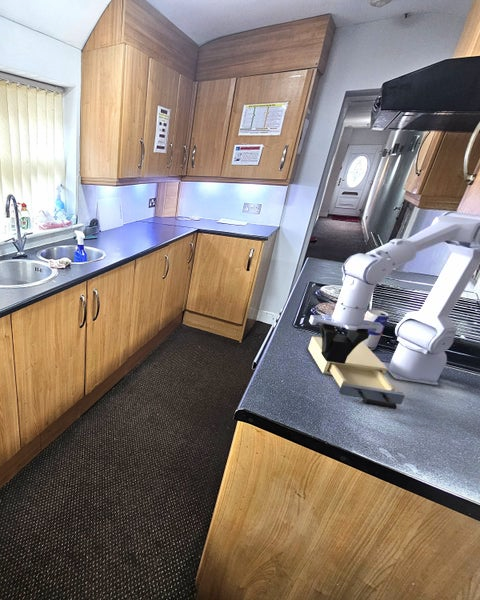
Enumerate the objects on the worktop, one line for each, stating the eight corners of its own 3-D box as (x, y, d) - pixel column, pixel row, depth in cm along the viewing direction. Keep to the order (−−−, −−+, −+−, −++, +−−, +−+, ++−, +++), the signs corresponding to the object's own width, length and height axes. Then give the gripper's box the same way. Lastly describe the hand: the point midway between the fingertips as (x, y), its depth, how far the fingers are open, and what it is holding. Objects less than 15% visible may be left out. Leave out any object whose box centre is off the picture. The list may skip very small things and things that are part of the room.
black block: (338, 355, 86) (345, 335, 83) (344, 364, 82) (352, 343, 80) (320, 353, 87) (327, 333, 84) (326, 361, 83) (333, 341, 81)
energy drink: (375, 352, 101) (390, 318, 97) (354, 347, 104) (367, 313, 100) (374, 345, 105) (388, 311, 101) (354, 340, 108) (366, 307, 104)
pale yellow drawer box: (381, 382, 88) (387, 368, 86) (322, 373, 92) (327, 359, 90) (358, 355, 100) (364, 342, 98) (308, 348, 104) (312, 336, 102)
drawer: (410, 416, 75) (415, 407, 74) (347, 405, 79) (351, 396, 78) (375, 374, 90) (379, 366, 89) (323, 366, 93) (326, 358, 92)
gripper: (322, 307, 77) (307, 355, 82) (398, 315, 73) (376, 365, 78) (313, 295, 83) (299, 341, 89) (382, 302, 79) (362, 350, 84)
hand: (334, 352), depth 84 cm, fingers closed on black block, 4 cm apart
